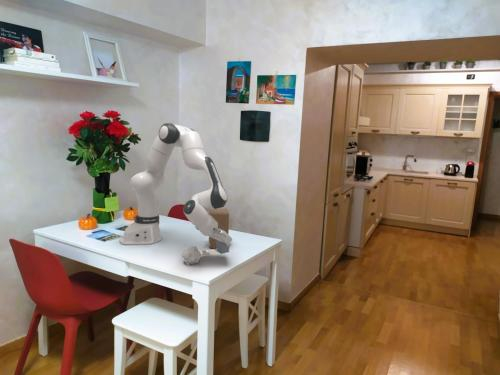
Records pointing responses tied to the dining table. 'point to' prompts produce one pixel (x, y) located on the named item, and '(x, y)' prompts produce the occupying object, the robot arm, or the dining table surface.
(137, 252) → the dining table surface
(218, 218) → the block
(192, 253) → the die
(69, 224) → the dining table surface
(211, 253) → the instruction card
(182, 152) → the robot arm
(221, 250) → the brick
